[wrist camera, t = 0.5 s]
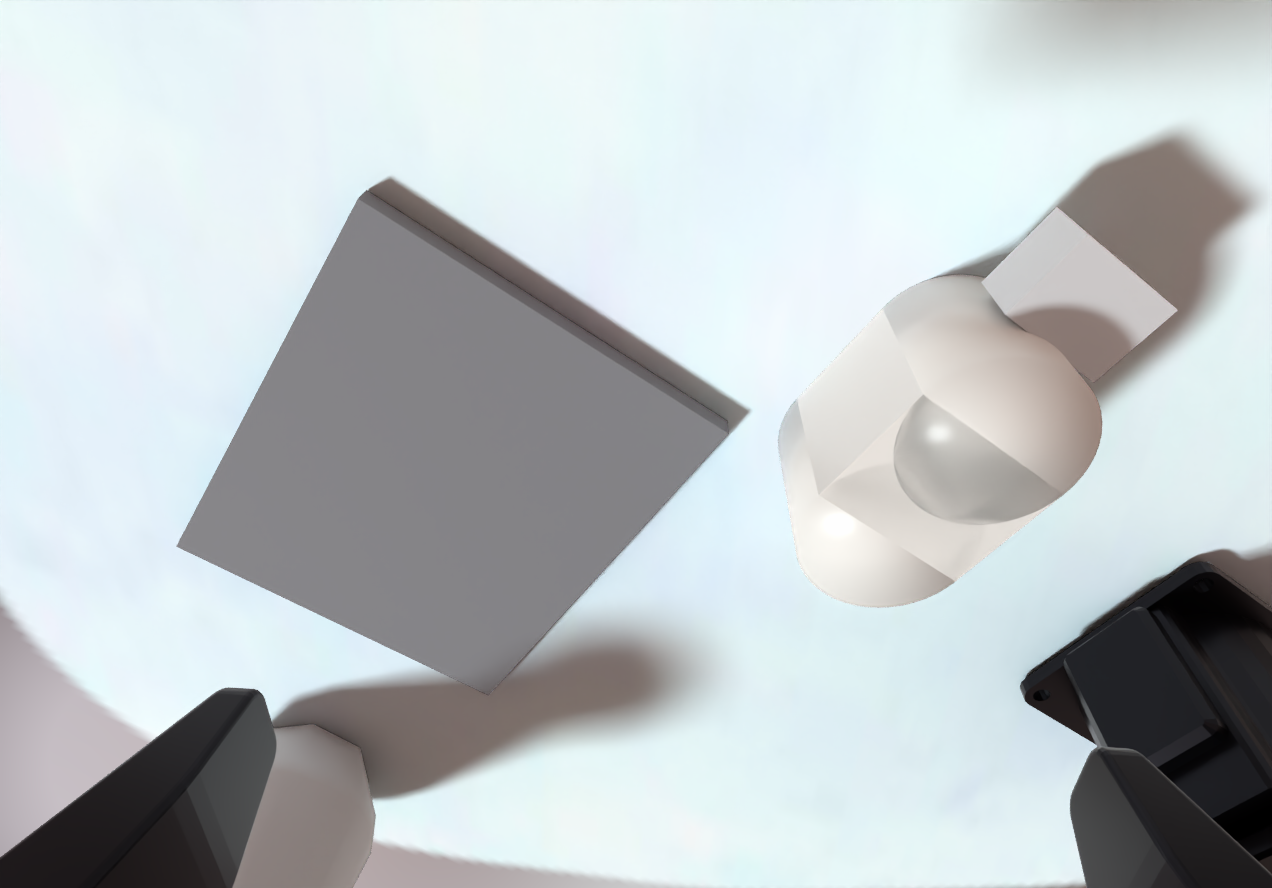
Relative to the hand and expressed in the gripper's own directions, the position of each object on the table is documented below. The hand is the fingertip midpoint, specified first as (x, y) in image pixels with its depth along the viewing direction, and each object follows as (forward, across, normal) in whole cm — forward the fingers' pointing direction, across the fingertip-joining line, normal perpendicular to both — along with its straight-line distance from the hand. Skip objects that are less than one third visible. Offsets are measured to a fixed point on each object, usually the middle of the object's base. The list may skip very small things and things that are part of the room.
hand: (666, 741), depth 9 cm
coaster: (+12, +6, +6) cm, 15 cm away
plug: (+13, -5, +2) cm, 14 cm away
